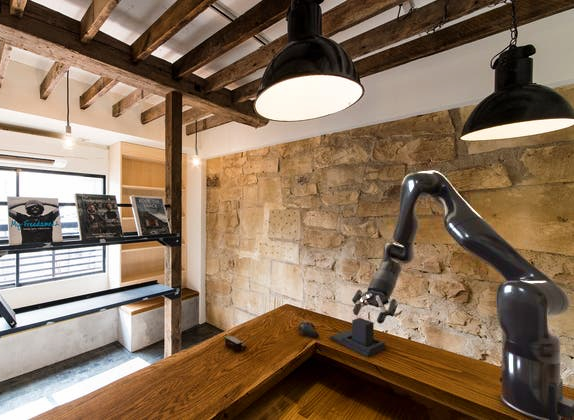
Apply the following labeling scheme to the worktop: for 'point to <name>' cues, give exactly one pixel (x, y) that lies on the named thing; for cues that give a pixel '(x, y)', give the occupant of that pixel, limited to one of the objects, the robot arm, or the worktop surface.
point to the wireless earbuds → (234, 343)
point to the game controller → (308, 329)
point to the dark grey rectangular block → (362, 331)
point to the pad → (347, 341)
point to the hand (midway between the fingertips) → (366, 318)
